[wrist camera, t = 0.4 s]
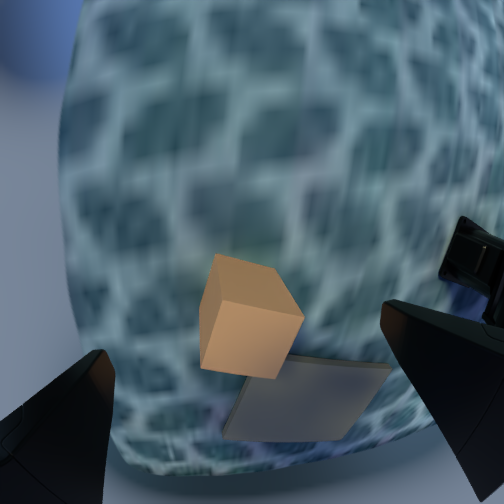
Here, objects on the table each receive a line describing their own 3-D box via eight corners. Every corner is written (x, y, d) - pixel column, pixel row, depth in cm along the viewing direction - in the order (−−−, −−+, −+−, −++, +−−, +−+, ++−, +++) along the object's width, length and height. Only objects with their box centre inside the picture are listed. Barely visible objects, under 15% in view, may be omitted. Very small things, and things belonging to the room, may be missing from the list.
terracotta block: (274, 268, 22) (304, 317, 15) (255, 319, 23) (275, 379, 16) (215, 253, 21) (222, 299, 14) (199, 307, 22) (200, 368, 15)
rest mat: (388, 363, 28) (392, 369, 27) (338, 434, 31) (340, 440, 30) (258, 349, 24) (261, 357, 23) (221, 432, 27) (222, 439, 26)
